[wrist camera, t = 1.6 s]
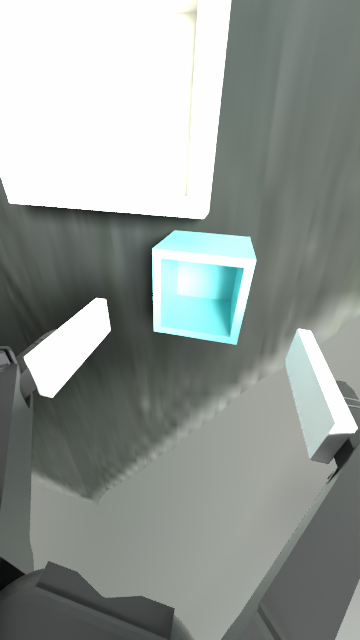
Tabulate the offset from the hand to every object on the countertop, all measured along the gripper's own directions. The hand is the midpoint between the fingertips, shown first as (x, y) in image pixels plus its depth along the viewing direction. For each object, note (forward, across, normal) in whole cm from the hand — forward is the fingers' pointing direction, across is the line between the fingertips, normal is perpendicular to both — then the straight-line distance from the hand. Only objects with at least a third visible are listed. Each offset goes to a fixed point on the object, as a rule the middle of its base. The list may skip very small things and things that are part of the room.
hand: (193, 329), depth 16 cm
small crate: (+12, 0, 0) cm, 12 cm away
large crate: (+12, -10, +13) cm, 21 cm away
